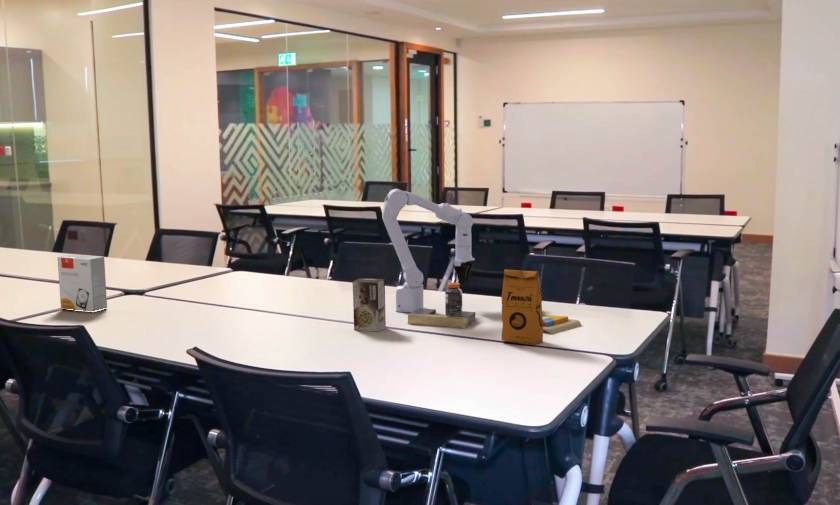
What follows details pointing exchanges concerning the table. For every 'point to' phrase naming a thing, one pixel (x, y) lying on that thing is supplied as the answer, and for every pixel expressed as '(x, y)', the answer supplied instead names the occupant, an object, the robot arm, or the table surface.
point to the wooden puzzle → (558, 323)
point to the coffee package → (522, 308)
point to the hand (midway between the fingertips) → (463, 283)
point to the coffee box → (369, 304)
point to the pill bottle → (453, 299)
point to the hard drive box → (82, 282)
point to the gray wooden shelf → (441, 318)
